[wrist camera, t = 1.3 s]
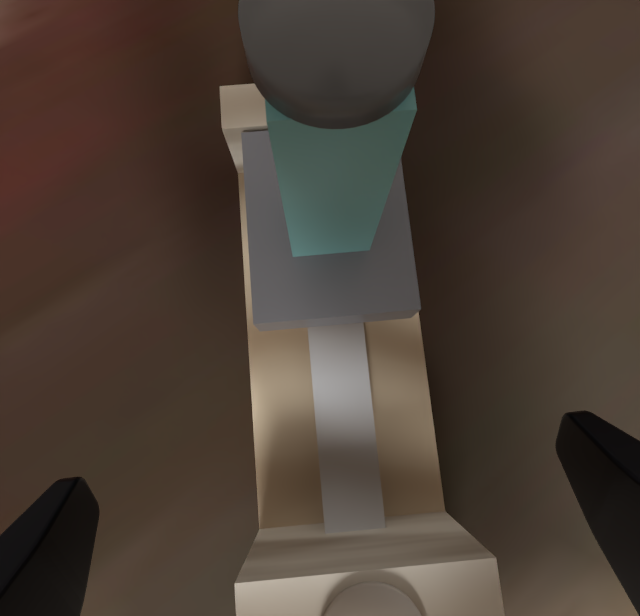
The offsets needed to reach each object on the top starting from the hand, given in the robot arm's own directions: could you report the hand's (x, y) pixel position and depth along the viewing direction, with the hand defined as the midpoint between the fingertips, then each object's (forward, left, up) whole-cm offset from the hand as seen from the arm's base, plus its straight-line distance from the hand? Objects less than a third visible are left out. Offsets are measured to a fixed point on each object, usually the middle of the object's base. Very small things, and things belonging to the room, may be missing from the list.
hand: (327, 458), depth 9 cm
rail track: (+2, -3, -13) cm, 14 cm away
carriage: (+5, -6, -10) cm, 13 cm away
